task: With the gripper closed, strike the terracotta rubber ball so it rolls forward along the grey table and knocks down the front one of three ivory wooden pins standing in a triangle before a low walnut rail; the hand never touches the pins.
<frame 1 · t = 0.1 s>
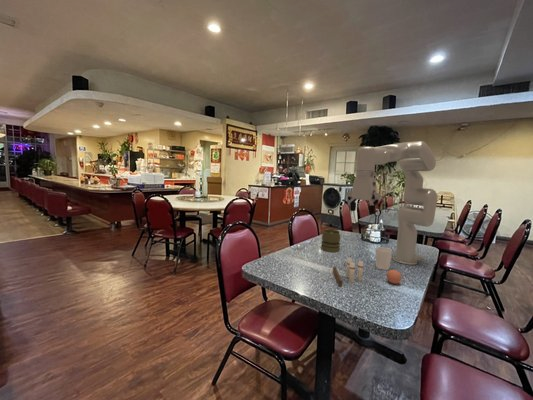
hand: (361, 212, 111), 31 cm above the table, tool pointing down, fingers open, 9 cm apart
piston: (330, 250, 156), on the table
back pin right: (348, 277, 114), on the table
ball: (393, 276, 109), on the table
white cup: (382, 267, 128), on the table
walnut rail: (337, 278, 112), on the table
front pin: (359, 280, 111), on the table
back pin left: (351, 282, 109), on the table
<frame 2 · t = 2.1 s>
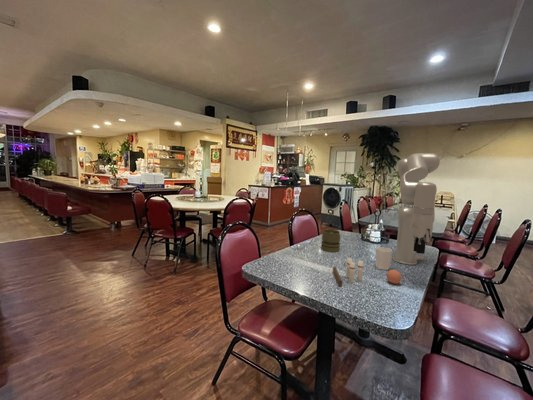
hand: (418, 252, 107), 15 cm above the table, tool pointing down, fingers closed
nothing on the table moved.
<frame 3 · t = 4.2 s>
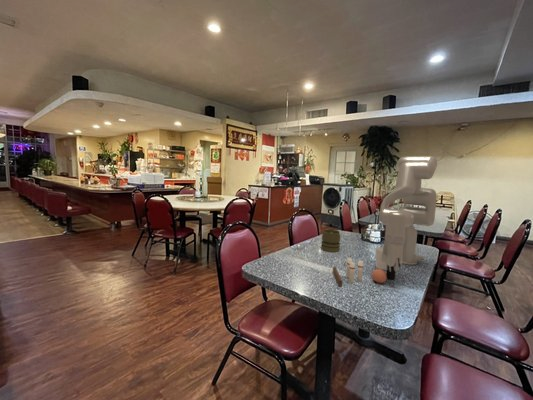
hand: (390, 279, 109), 2 cm above the table, tool pointing down, fingers closed
ball: (379, 275, 109), on the table
everything else where it was.
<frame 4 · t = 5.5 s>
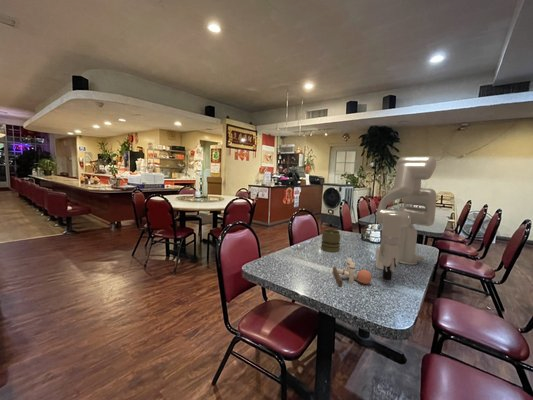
hand: (386, 279, 110), 2 cm above the table, tool pointing down, fingers closed
ball: (364, 276, 108), on the table
front pin: (357, 277, 111), point 1 cm above the table, tilted 73°
everything else where it was.
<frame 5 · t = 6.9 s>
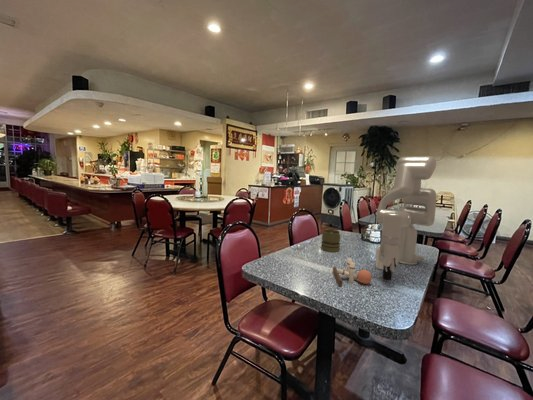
hand: (386, 279, 110), 2 cm above the table, tool pointing down, fingers closed
nothing on the table moved.
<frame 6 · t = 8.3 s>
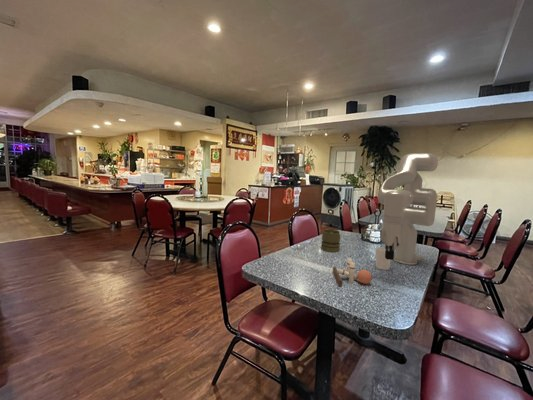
hand: (389, 258, 109), 11 cm above the table, tool pointing down, fingers closed
nothing on the table moved.
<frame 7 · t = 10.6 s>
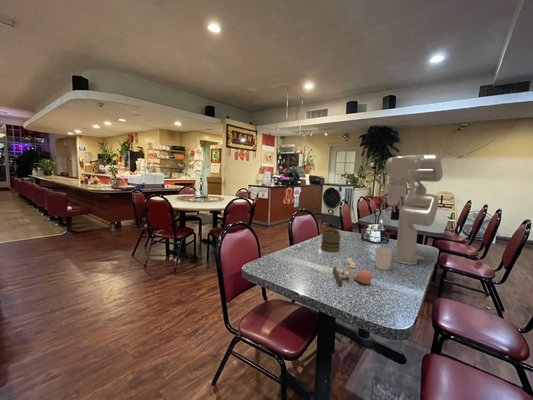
hand: (394, 219, 118), 27 cm above the table, tool pointing down, fingers closed
nothing on the table moved.
at the end: front pin tilted 73°; front pin never touched the robot; ball moved 14.0 cm from its start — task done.
